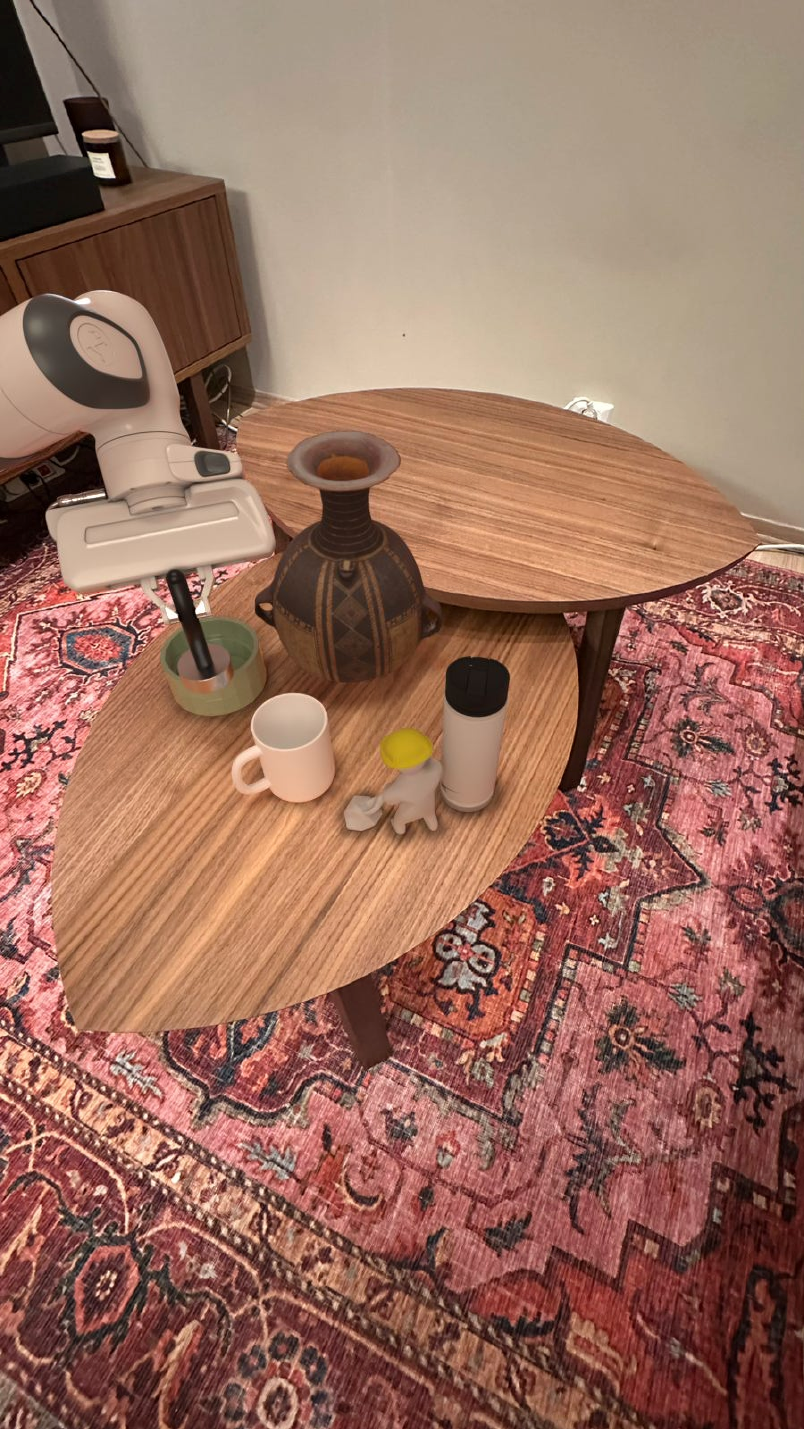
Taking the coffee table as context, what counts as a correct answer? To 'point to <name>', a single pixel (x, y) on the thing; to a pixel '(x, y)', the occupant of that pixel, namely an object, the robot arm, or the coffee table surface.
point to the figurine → (401, 784)
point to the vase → (347, 569)
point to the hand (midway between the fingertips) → (189, 620)
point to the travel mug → (472, 731)
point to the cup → (289, 749)
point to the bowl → (244, 659)
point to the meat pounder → (197, 644)
